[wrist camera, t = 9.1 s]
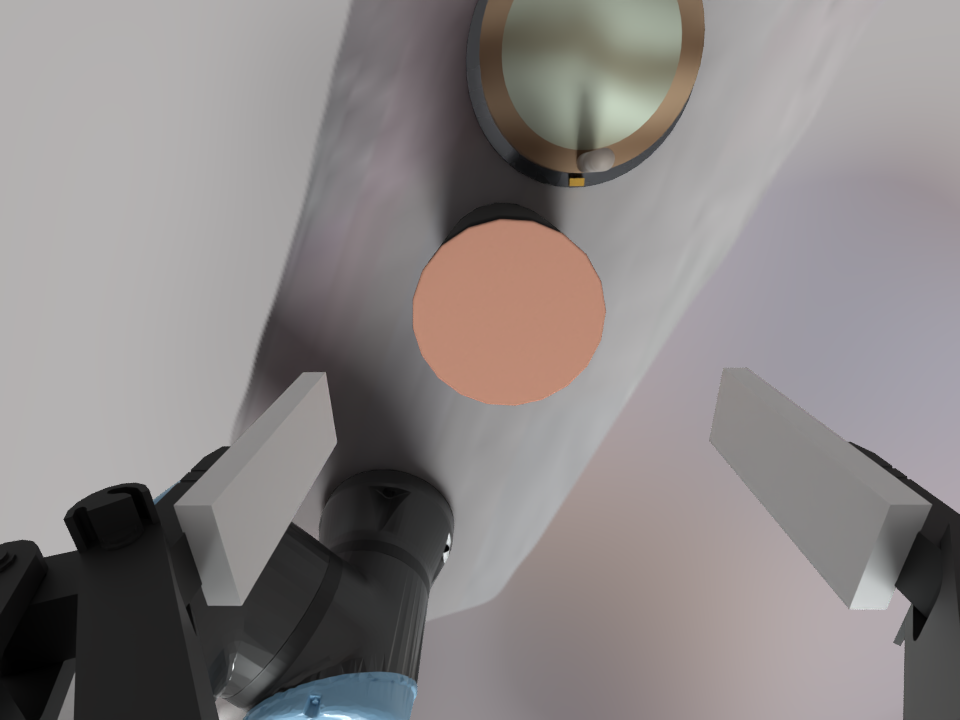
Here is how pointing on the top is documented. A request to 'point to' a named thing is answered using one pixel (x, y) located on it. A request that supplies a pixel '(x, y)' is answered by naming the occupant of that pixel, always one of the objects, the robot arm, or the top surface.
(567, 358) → the coffee jar
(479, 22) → the wheel base
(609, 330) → the top surface
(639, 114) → the index wheel
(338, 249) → the top surface
